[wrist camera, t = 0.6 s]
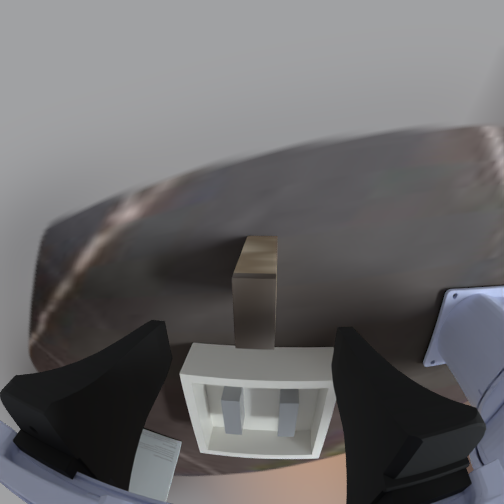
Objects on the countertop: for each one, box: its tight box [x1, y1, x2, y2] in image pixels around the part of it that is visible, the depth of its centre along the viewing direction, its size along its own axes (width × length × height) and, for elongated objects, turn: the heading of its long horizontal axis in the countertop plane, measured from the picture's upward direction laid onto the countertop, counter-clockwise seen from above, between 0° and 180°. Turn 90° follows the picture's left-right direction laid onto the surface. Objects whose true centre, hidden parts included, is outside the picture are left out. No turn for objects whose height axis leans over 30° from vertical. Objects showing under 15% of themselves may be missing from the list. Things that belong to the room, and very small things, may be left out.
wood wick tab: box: [232, 236, 277, 350], centre depth 17 cm, size 2×4×7 cm, turn 1°
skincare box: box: [129, 429, 182, 502], centre depth 23 cm, size 8×6×15 cm
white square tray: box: [180, 343, 336, 459], centre depth 22 cm, size 12×12×4 cm
